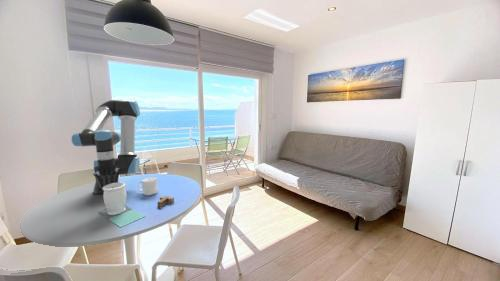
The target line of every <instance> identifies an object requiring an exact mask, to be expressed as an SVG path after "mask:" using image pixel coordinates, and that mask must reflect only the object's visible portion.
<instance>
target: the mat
mask: <svg viewBox="0 0 500 281" xmlns="http://www.w3.org/2000/svg"><path fill="white" fill-rule="evenodd" d="M125 208H126V210H125V211H124V212H122V213H120V214H117V215H109V214H108V210H107V208H105V209H103V210H100V211H99V210H98V213H99V214H100V215H102V217H105V218H106V219H107V220H109V221H110V222H111V223H113V224H114V225H116V226H117V227H119V228H122V227H125V226H128V225H130V224H132V223H134V222H137V221H139V220H141V219H144V218H146V216H145V215H143V214H141V213H140V212H138V211H136V210H135V209H133V208H131V207H129V206H127V205H125Z"/></svg>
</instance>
